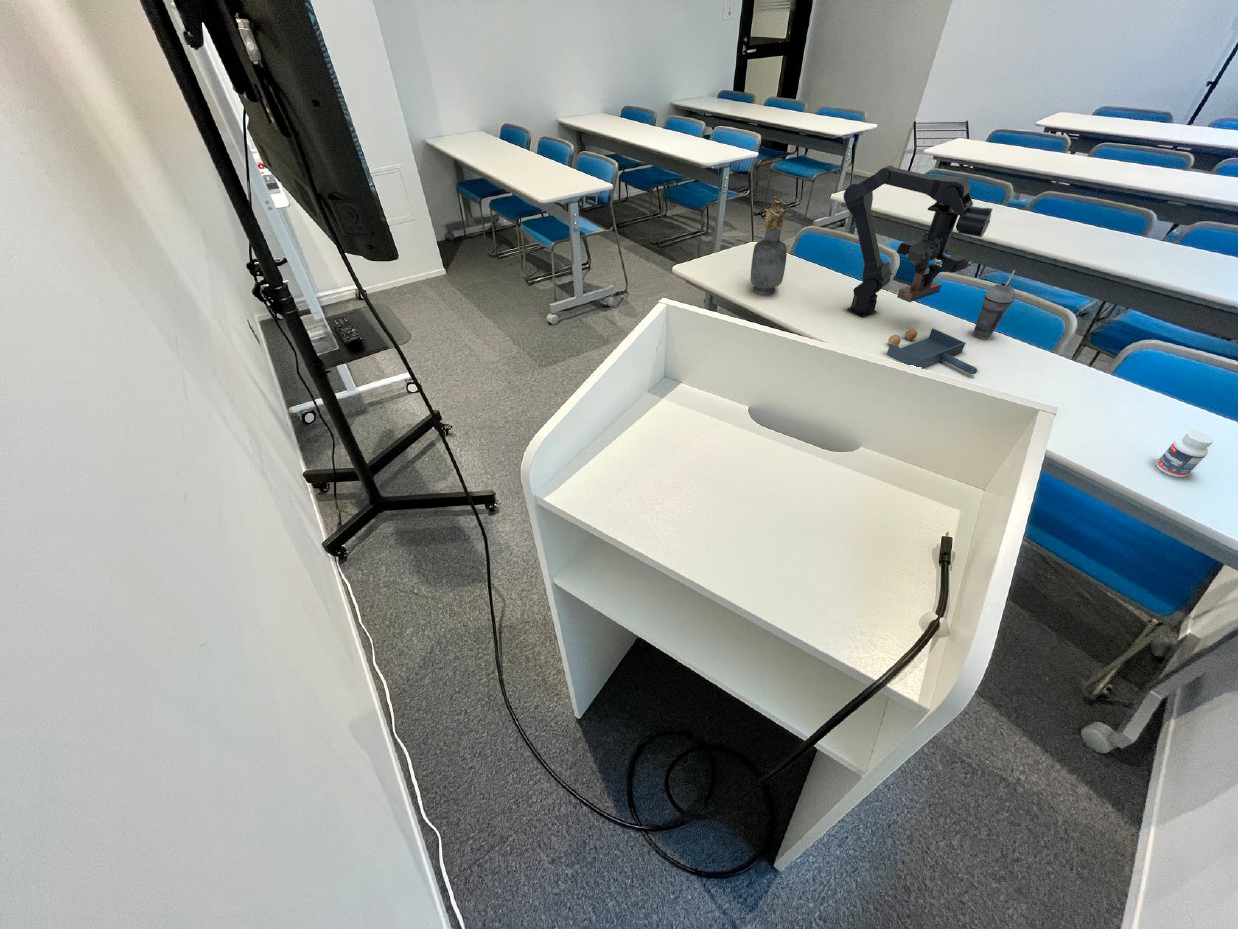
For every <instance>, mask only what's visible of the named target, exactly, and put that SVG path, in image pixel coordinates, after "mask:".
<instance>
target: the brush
mask: <svg viewBox="0 0 1238 929" xmlns="http://www.w3.org/2000/svg"><path fill="white" fill-rule="evenodd" d="M929 270H930V269H929V267H927V268H926V269H925V270H922V271H919V272H916V273H915V272H914V275H913V276H914V277H913V279H912V282H911V285H908V286H905V287H901V288H899V289H898V293H897V295H896V298H898V299H900V300H902V301H905V302H908V303H912V302H915V301H918V300H921V299H925V298H926V297H929V296H933V295H935V294H938V293H940V290H941V288H942V286H943V284H942V283H940V282H937V281H934V279H933V280H932V282H931V283H930V284H929V285H928V286H927V287H924V284H925V281H926V278H927V276H928V273H929Z"/></svg>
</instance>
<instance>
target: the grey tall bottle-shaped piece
mask: <svg viewBox="0 0 1238 929" xmlns="http://www.w3.org/2000/svg"><path fill="white" fill-rule="evenodd" d="M773 200H774V201H773V202H772V204H771V205H768V206H766V207H765V208H764V211H765V212H766V214H765V215H766V216H765V224H764V228H765V231H764V232H765V233H764V238H763V239H762V240H759V241H757V242H756V243H755V244H754V247H753V252H752V258H751V265H750V266H751V268H750V283H751V284H752V286H754V287H753V291H754V292H755V293H756V294H759V295H763V296H765V295H772V294H773V293H775V291H776V287H779V286H780V285H781V284H782V283H783V280H784V276H785V271H786V264H787V257H788V256H787V254H788V250H787V245H786V243H785V242H783V241H781V240H780V239H781V233H782V230H783V227H784V218H785V215H786V213H787V212H789V211H790V208H788V207H786V206H787V204H786V203H785V202H784V201H783V199H781V198H779V197H778V196H775V195H774V196H773ZM782 204H783V205H782ZM785 205H786V206H785Z"/></svg>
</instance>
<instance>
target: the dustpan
mask: <svg viewBox="0 0 1238 929" xmlns="http://www.w3.org/2000/svg"><path fill="white" fill-rule="evenodd" d="M966 344H967V343H966V342H965V341H963V340H960V339H959V338H956V337H954V336H952V335H949V334H948V333H945V332H943V331H940V330H938V329H936V328H933V327H932V328H931V329H930V332H929V335H928V337H927V338H923V339H920V340H919V341H916V342H913V343H910V344H908V345H905V346H903V347H899V346H898V345H897V346H895V345H893V344H889V346H888V349H887V352H886V355H888V356H890V357H892V358H893V359H895V360H897V361H899V362H901V363H903V364H905V365H907V364H908V365H907V366H909V365H914V366H916V367H922V368H921V369H924V368H927V367H930V366H931V365H934V364H936V363H939V362H944V363H946V364H949V365H951V366H952V367H955V368H957V369H959V370H961V371H963V372H965V373H967V374H969V375H976V374H977V373H978V368H977V367H976V366H974V365H971V364H969V363H968V362H965V361H963V360H961V359H958V358H956V357H955V356H956V355H958V354H961V353H963V351H964V348H965V346H966Z"/></svg>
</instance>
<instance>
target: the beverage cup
mask: <svg viewBox="0 0 1238 929" xmlns="http://www.w3.org/2000/svg"><path fill="white" fill-rule="evenodd" d="M1016 271H1017V270H1016V269H1013V270H1012V272H1011V274H1010V276H1009V277H1008V279H1007V281H1006V283H1005V282H1003V283H1002V282H999V283H997V284H994V285H993V286H991V287H990V288H989V289H988V290H987V291H986V293H985V294H984V296H983V299H982V300H983V301H982V304H981V305H982V306H981V309H980V311H979V315H978V318H977V320H976V323H975V326H974V330H973V333H972V335H973V337H975V338H977V339H981V340H989V339H990V338H991V337H992V335H993V334H994V332H995V330H997V327H998V326H999V324H1000V322H1001V321H1002V319H1003V317H1004V315H1005V314H1006V312H1007V311H1008V309H1009V308H1010V307H1011V305H1012V304H1013V303H1014V301H1015V295H1016V291H1015V289H1014V288H1013V286H1012V285H1010V284H1009V283H1010V282H1011V280H1012V278H1013V276H1014V274H1015V273H1016Z"/></svg>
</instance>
